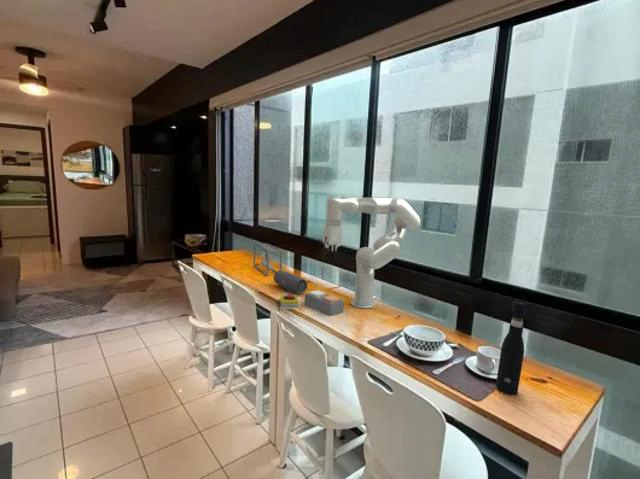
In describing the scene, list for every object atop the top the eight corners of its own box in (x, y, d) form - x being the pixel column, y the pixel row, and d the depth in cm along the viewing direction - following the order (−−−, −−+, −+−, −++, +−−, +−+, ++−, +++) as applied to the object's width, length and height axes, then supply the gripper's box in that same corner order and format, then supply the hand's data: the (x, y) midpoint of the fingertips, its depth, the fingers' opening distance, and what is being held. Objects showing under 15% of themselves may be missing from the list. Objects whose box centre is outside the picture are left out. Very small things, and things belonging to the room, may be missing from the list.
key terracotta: (330, 304, 179) (331, 295, 178) (339, 307, 174) (339, 298, 174) (322, 306, 174) (322, 297, 174) (330, 310, 170) (331, 300, 170)
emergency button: (297, 292, 190) (299, 301, 175) (297, 300, 190) (298, 309, 176) (280, 291, 188) (281, 301, 174) (280, 299, 189) (280, 309, 174)
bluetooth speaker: (272, 286, 211) (273, 270, 209) (284, 284, 217) (285, 268, 216) (294, 296, 194) (295, 279, 193) (307, 294, 200) (308, 277, 199)
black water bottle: (510, 384, 117) (523, 299, 112) (521, 396, 110) (536, 306, 106) (491, 384, 117) (504, 298, 112) (502, 395, 110) (516, 305, 106)
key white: (317, 299, 186) (317, 290, 185) (325, 302, 181) (325, 293, 181) (309, 301, 182) (309, 292, 181) (316, 304, 177) (317, 295, 177)
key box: (317, 301, 188) (317, 290, 187) (343, 312, 175) (344, 300, 174) (304, 304, 182) (305, 293, 181) (330, 316, 168) (331, 304, 167)
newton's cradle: (253, 266, 257) (254, 243, 255) (266, 265, 262) (267, 242, 260) (266, 276, 231) (267, 250, 229) (281, 275, 236) (282, 250, 234)
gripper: (337, 221, 181) (335, 255, 184) (318, 222, 171) (316, 258, 174) (348, 222, 176) (346, 257, 179) (329, 224, 166) (327, 261, 169)
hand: (331, 258), depth 176 cm, fingers closed
